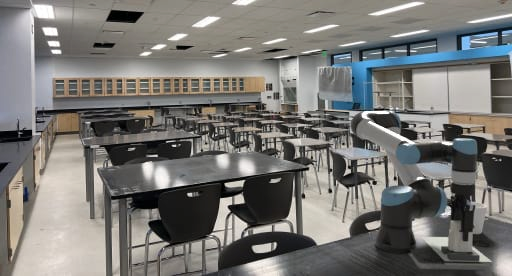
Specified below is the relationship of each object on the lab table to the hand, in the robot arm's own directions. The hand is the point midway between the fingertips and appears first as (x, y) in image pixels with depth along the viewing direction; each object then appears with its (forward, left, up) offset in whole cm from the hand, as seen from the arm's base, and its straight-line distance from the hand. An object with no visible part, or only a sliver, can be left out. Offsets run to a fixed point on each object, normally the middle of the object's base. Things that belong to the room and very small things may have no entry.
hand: (460, 246), depth 135 cm
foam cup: (+17, +26, -5) cm, 32 cm away
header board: (+1, +7, -5) cm, 9 cm away
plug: (0, 0, -1) cm, 1 cm away
